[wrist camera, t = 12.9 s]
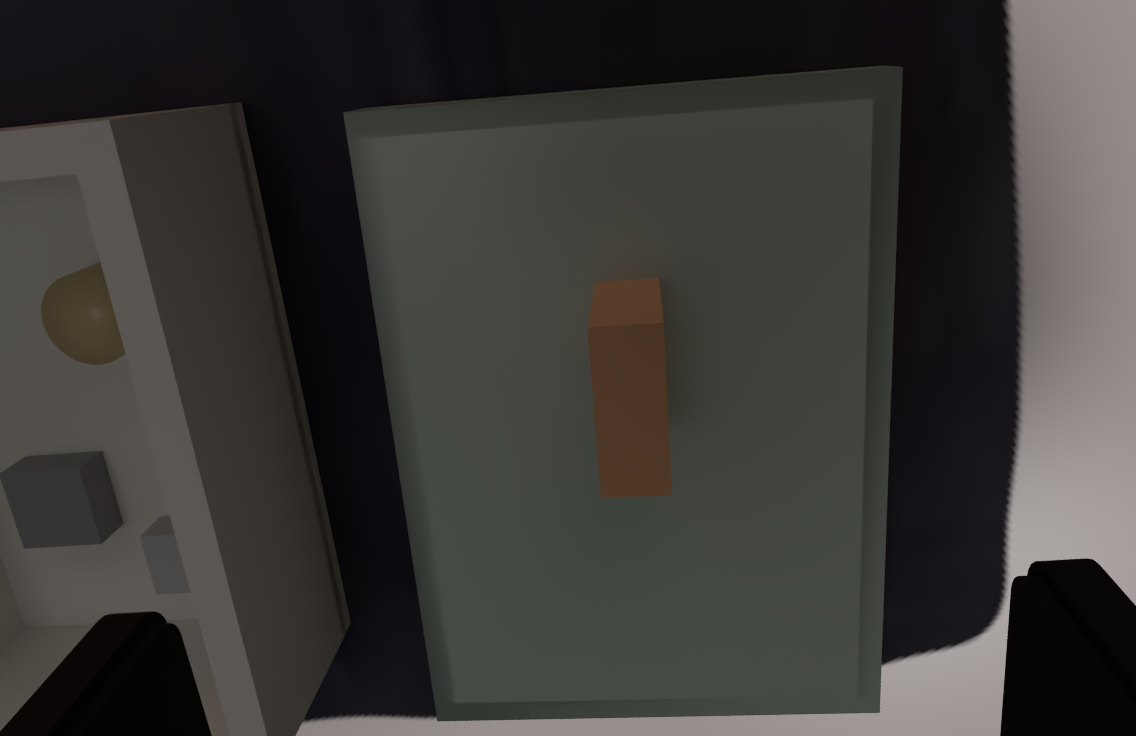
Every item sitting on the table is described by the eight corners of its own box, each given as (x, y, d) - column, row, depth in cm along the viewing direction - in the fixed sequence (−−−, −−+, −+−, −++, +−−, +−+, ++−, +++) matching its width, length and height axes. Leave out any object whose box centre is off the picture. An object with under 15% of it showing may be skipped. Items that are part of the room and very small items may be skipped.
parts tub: (-151, 144, 31) (-399, 174, 24) (241, 102, 30) (109, 120, 22) (21, 639, 38) (-132, 786, 30) (351, 623, 36) (276, 773, 29)
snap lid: (364, 108, 30) (283, 125, 23) (882, 65, 28) (961, 70, 21) (448, 681, 37) (406, 826, 30) (864, 672, 35) (919, 821, 29)
